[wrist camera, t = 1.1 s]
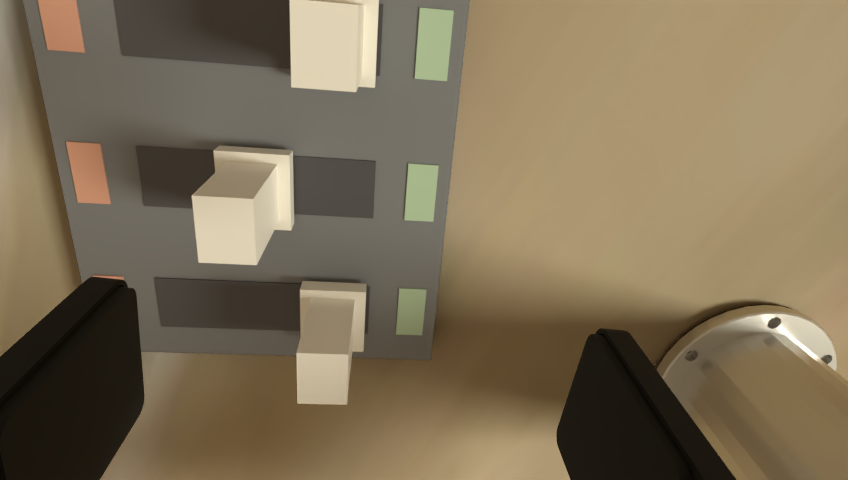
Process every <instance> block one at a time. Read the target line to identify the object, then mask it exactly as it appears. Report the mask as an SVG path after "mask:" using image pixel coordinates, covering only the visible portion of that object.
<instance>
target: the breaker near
mask: <svg viewBox="0 0 848 480" xmlns="http://www.w3.org/2000/svg"><path fill="white" fill-rule="evenodd" d="M289 1H290V52H291V87H293V88H306V89H319V90H333V91H346V92H357V89H358V87H369V88H375V81H376V59H377V36H378V13H379V0H289Z"/></svg>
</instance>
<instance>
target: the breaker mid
mask: <svg viewBox="0 0 848 480" xmlns="http://www.w3.org/2000/svg"><path fill="white" fill-rule="evenodd" d="M213 152H214V164H215V173H214V174H213V175H212V176H211V177H210V178H209V179H208V180H207V181H206V182H205V183H204V184H203V185H202V186H201V187H200V188H199V189H198V190H197V191H196V192H195V193H194V194H193V195H192V204H193V214H194V224H195V233H196V243H197V253H198V262H199V263H218V264H240V265H257V263H258V262H259V260H260V258H261V256H262V254H263V252H264V250H265V248H266V246H267V244H268V242H269V240H270V238H271V236H272V234H273V232H274V230H289V231H291V230H292V227H293V225H294V183H293V150H282V149H267V148H251V147H236V146H220V145H219V146H218V147H217V148H216V149H215V150H213Z"/></svg>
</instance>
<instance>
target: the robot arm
mask: <svg viewBox="0 0 848 480" xmlns="http://www.w3.org/2000/svg"><path fill="white" fill-rule="evenodd" d="M836 368H837V358H836V350H835V348H834V345H833V342H832V340H831V338H830V337H829V336H828V334H827V333H826V332H825V330H824V329H823V328H822V327H820V326H819V325H818V324H816V323H815V322H814V321H813V320H811V319H810V318H809V317H807V316H805V315H803V314H802V313H800V312H798V311H796V310H792V309H789V308H786V307H782V306H772V305H758V306H747V307H743V308H739V309H735V310H731V311H728V312H725V313H723V314H720V315H718V316H715V317H713V318H710V319H709V320H707V321H705V322H704V323H702V324H700V325H698V326H697V327H695V328H694V329H692V330H691V331H690V332H688V333H687V334H686V335H685V336H683V337H682V338H681V339H680V340H679V341H678V342H677V343H676V344H675V345H674V346H673V347H672V348H671V349H670V350H669V351H668V352H667V354H666V355H665V357H664V358H663V360H662V361H661V363H660V364H659V366H658V368H657V370H656V369H655V367H654V366H653V365H652V363H651V362H650V361H649V359H648V358H647V356H646V355H645V354H644V352H643V351H642V350H641V348H640V347H639V346H638V344H637V343H636V341H635V340H634V339H633V337H632V336H631V335H630V334H629V333H628V332H627V331H622V330H612V329H602V328H601V329H599V330H598V331H597V332H596V333H595V334H591V335H589V337H588V338H587V341H586V344H585V347H584V350H583V353H582V356H581V359H580V362H579V365H578V368H577V371H576V374H575V377H574V380H573V383H572V386H571V389H570V392H569V395H568V398H567V401H566V404H565V407H564V410H563V413H562V416H561V419H560V422H559V425H558V428H557V444H558V448H559V450H560V453H561V456H562V458H563V461H564V463H565V466H566V469H567V471H568V474H569V477H570V479H571V480H848V381H847V380H846V379H844V378H843V377H842V376H841V375H840V374H838V373H837V372H836ZM143 404H144V385H143V372H142V359H141V346H140V333H139V320H138V307H137V295H136V291H135V289H133V288H128V285H127V283H126V281H124V280H121V279H111V278H102V277H90V278H88V279H87V280H86V281H85V282H83V283H82V284H81V285H80V286H79V287H78V288H77V289H76V290H74V291H73V292H72V293H71V294H70V295H69V296H68V297H67V298H65V299H64V300H63V301H62V302H61V303H60V304H59V305H58V306H57V307H55V308H54V309H53V310H52V311H51V312H50V313H49V314H48V315H46V316H45V317H44V318H43V319H42V320H41V321H40V322H39V323H37V324H36V325H35V326H34V327H33V328H32V329H31V330H30V331H29V332H27V333H26V334H25V335H24V336H23V337H22V338H21V339H20V340H18V341H17V342H16V343H15V344H14V345H13V346H12V347H11V348H10V349H8V350H7V351H6V352H5V353H4V354H3V355H2V356H1V357H0V480H100V478H101V477H102V475H103V473H104V472H105V470H106V468H107V467H108V465H109V464H110V462H111V460H112V459H113V457H114V456H115V454H116V452H117V451H118V449H119V447H120V446H121V444H122V443H123V441H124V439H125V438H126V436H127V435H128V433H129V431H130V430H131V428H132V426H133V425H134V423H135V422H136V420H137V418H138V417H139V415H140V413H141V410H142V407H143Z"/></svg>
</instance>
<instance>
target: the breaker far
mask: <svg viewBox="0 0 848 480" xmlns="http://www.w3.org/2000/svg"><path fill="white" fill-rule="evenodd" d="M366 286H367V284H364V283H341V282H317V281H302V284H301V288H300V332H301V338H300V341H299V345H298V349H297V353H296V357H297V404H338V405H347V400H348V390H349V380H350V371H351V361H352V352H363V350H364V332H365V309H366Z"/></svg>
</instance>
